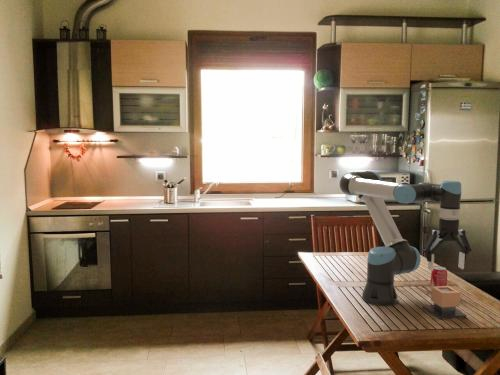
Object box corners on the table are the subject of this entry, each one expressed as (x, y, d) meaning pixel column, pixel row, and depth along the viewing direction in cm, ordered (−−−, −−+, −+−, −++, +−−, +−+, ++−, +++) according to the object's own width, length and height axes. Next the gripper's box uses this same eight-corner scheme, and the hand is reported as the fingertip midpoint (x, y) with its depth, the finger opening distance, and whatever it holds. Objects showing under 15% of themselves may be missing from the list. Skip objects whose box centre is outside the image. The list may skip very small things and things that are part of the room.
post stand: (438, 318, 177) (440, 296, 176) (423, 307, 189) (424, 286, 188) (466, 317, 179) (467, 295, 178) (449, 306, 191) (450, 285, 190)
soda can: (433, 288, 213) (435, 264, 212) (448, 292, 208) (450, 268, 207) (427, 292, 208) (428, 267, 207) (442, 296, 203) (444, 271, 202)
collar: (441, 307, 179) (442, 293, 178) (430, 300, 187) (431, 286, 186) (459, 306, 180) (460, 292, 179) (448, 299, 188) (449, 285, 187)
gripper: (425, 220, 174) (422, 272, 177) (483, 219, 178) (479, 270, 180) (416, 217, 182) (413, 266, 184) (471, 216, 185) (467, 265, 188)
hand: (445, 268), depth 182 cm, fingers open, 13 cm apart
